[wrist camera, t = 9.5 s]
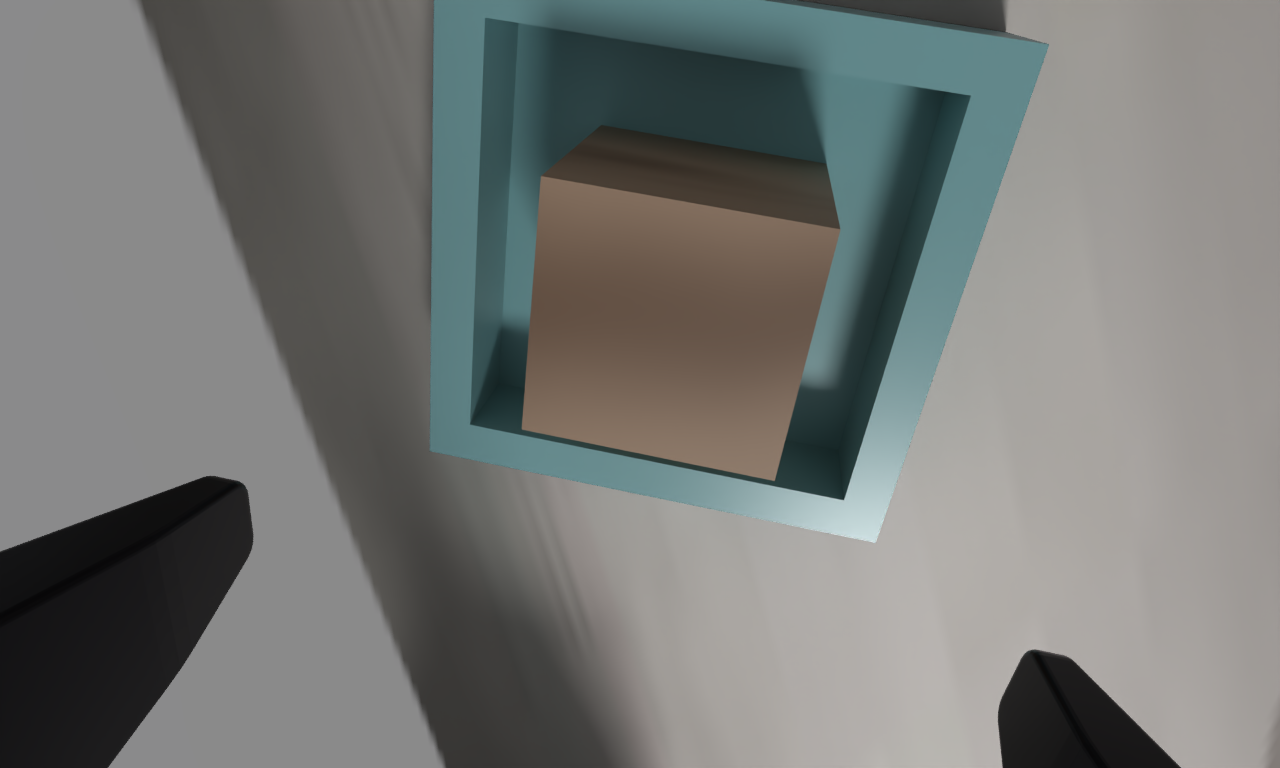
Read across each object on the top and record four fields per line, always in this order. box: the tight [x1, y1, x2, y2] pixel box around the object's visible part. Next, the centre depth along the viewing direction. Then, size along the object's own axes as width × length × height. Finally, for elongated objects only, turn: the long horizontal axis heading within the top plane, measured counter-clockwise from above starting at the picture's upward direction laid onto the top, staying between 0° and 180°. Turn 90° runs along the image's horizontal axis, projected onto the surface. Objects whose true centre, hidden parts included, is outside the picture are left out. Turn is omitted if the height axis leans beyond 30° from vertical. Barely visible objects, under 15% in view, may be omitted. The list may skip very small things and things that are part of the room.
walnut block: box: [522, 125, 841, 481], centre depth 17 cm, size 5×5×5 cm
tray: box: [430, 0, 1049, 543], centre depth 18 cm, size 11×11×3 cm
